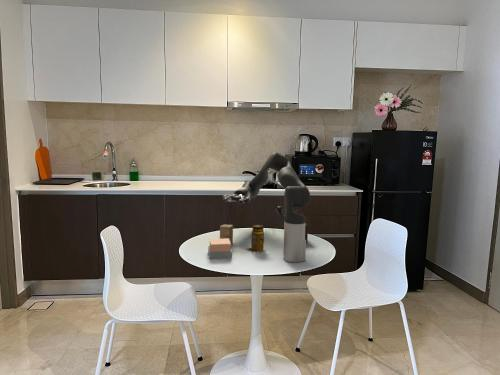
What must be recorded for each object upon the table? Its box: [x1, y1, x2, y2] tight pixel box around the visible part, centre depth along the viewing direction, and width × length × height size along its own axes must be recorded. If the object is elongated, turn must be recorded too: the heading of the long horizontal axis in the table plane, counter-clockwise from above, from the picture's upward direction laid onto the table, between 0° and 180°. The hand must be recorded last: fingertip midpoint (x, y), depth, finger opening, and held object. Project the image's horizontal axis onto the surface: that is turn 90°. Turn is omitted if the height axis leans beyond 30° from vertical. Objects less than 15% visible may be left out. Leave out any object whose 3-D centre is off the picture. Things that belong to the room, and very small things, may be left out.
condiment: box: [244, 224, 267, 254], centre depth 184 cm, size 7×8×12 cm
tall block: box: [219, 223, 234, 246], centre depth 192 cm, size 5×5×10 cm
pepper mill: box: [275, 205, 309, 244], centre depth 202 cm, size 16×11×18 cm
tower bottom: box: [207, 245, 233, 260], centre depth 177 cm, size 10×10×4 cm
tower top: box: [209, 238, 232, 252], centre depth 176 cm, size 9×9×4 cm
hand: (232, 201), depth 199 cm, fingers open, 8 cm apart
